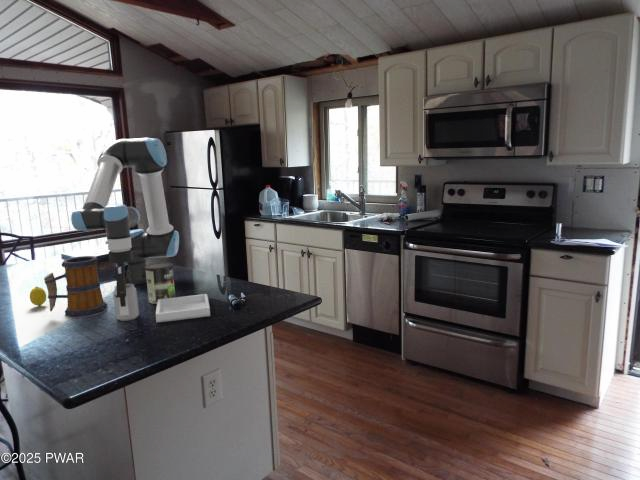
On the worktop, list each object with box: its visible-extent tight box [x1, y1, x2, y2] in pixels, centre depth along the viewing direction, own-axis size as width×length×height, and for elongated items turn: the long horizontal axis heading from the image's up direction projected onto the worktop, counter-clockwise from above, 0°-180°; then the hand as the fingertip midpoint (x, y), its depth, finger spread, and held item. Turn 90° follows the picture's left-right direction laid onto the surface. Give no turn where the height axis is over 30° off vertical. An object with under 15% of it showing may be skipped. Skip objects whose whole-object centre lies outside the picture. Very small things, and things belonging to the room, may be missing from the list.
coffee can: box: [145, 262, 176, 305], centre depth 188 cm, size 10×10×14 cm
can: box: [112, 283, 140, 322], centre depth 169 cm, size 8×8×12 cm
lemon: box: [29, 286, 47, 307], centre depth 186 cm, size 6×6×8 cm
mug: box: [43, 255, 109, 319], centre depth 175 cm, size 19×14×20 cm
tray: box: [155, 293, 211, 324], centre depth 174 cm, size 18×18×3 cm
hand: (126, 309), depth 169 cm, fingers open, 13 cm apart
